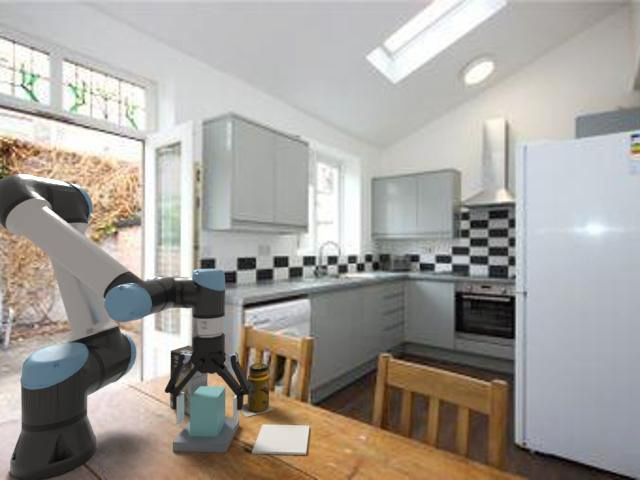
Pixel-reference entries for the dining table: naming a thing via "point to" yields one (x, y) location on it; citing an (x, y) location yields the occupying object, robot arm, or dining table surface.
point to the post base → (206, 439)
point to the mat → (282, 439)
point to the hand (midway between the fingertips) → (208, 422)
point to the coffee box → (193, 383)
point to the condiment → (257, 390)
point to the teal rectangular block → (207, 411)
